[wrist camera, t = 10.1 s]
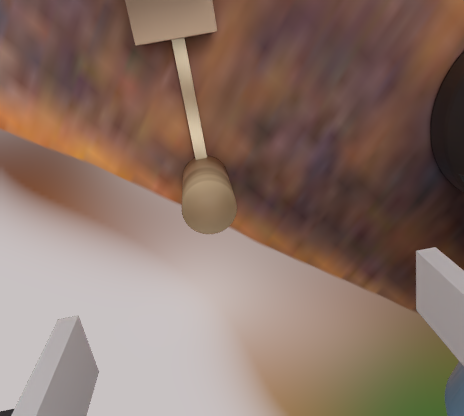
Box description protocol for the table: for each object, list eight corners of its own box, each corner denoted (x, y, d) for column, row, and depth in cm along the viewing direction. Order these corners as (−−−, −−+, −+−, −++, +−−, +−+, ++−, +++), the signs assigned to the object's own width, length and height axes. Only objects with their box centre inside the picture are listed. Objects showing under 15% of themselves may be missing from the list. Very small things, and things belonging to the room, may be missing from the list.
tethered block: (239, 192, 35) (251, 226, 28) (179, 203, 35) (177, 240, 28) (199, -47, 28) (203, -74, 22) (125, -35, 28) (107, -58, 22)
